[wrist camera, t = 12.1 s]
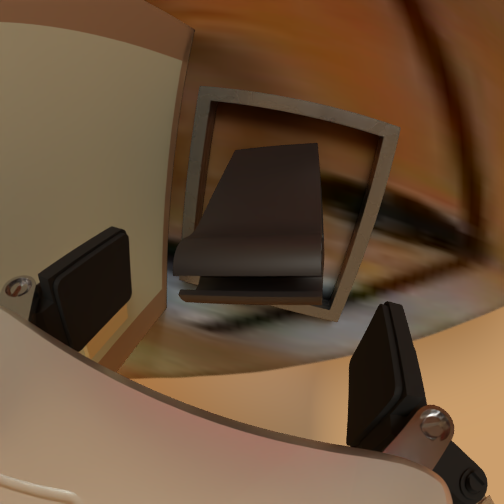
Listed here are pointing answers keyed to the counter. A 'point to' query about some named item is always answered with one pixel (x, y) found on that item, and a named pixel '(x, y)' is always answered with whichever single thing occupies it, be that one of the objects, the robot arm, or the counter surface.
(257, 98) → the grey flat square frame
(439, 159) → the counter surface
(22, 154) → the tan picture frame
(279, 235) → the phone stand
